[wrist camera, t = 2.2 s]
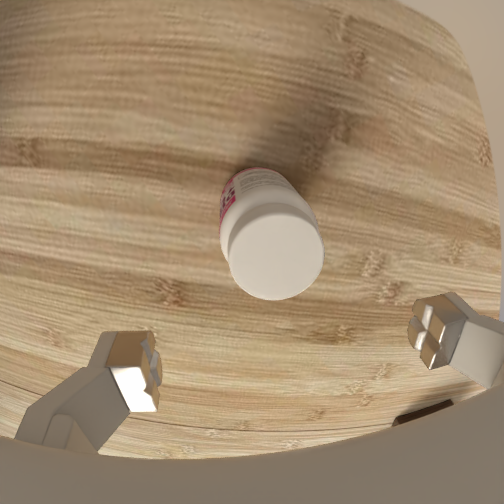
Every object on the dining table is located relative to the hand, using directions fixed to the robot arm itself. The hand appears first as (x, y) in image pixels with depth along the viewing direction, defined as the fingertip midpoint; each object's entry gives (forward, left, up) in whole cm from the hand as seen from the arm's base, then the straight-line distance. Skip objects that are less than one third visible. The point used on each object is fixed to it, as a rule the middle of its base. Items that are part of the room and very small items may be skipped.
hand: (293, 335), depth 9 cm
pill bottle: (0, 0, -13) cm, 13 cm away
